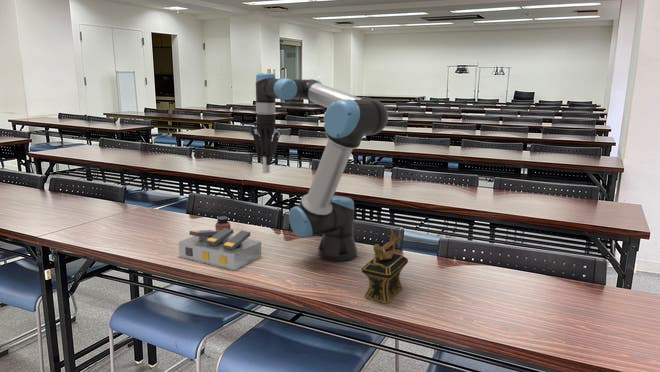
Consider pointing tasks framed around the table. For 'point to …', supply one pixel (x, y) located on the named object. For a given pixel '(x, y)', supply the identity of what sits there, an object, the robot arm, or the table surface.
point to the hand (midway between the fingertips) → (266, 172)
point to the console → (220, 252)
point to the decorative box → (385, 271)
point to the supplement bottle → (222, 224)
